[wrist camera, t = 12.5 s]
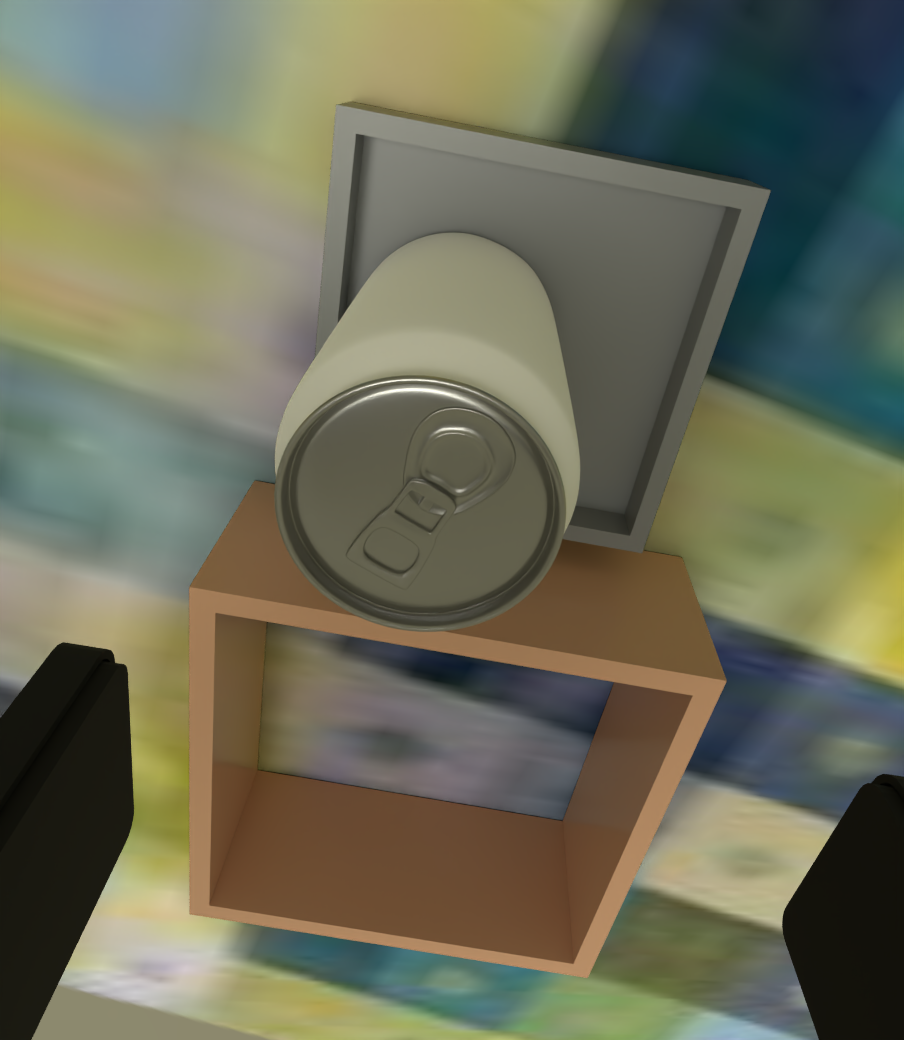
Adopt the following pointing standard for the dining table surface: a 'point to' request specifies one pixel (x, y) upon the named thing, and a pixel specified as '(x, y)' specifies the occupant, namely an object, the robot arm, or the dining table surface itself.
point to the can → (432, 442)
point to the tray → (563, 274)
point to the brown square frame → (432, 823)
